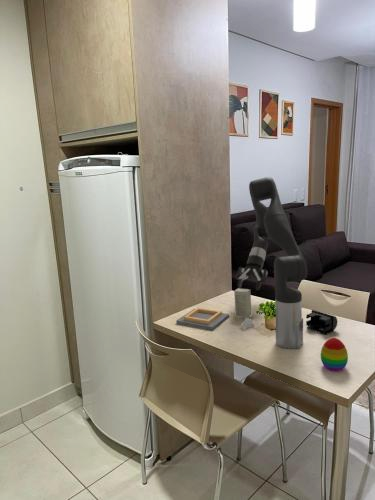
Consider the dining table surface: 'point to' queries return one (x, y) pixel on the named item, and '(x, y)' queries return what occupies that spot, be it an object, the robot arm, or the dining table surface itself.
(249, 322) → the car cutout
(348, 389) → the dining table surface
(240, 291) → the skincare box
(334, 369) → the decorative egg
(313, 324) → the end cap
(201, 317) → the grey wood framed tray
